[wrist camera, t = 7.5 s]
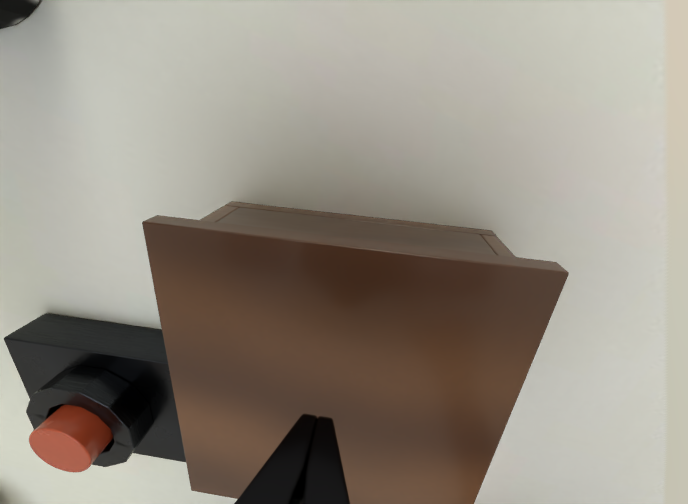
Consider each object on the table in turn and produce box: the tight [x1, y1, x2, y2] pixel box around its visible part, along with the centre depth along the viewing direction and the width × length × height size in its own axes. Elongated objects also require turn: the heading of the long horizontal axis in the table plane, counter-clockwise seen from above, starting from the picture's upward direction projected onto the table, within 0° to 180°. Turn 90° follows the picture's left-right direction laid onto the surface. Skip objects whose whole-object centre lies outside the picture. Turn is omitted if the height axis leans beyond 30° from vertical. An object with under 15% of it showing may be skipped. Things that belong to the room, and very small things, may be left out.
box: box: [200, 202, 515, 257], centre depth 17 cm, size 14×14×6 cm
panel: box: [4, 313, 186, 467], centre depth 21 cm, size 11×9×4 cm
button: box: [29, 404, 113, 472], centre depth 19 cm, size 4×4×2 cm
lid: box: [142, 215, 568, 504], centre depth 13 cm, size 15×14×1 cm
